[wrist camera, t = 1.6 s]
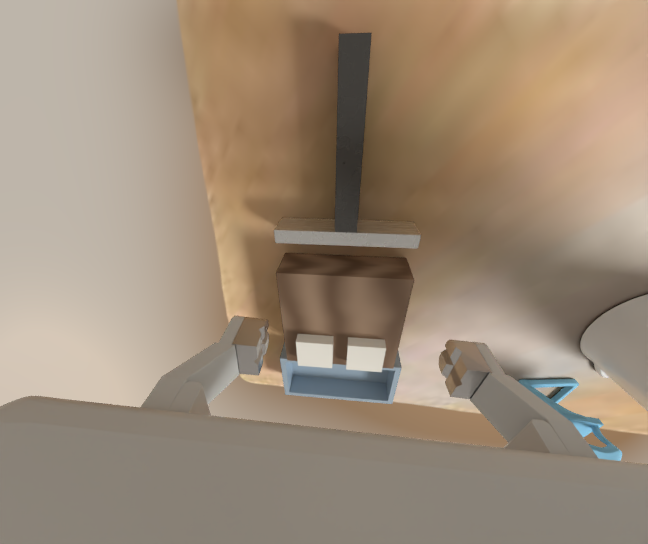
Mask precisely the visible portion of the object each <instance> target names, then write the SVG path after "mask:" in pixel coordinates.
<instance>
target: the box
mask: <svg viewBox="0 0 648 544" xmlns="http://www.w3.org/2000/svg"><path fill="white" fill-rule="evenodd" d="M280 363H281V369H282V376H283V382H284V389H285V394H286V395H297V396H308V397H319V398H330V399H341V400H354V401H364V402H375V403H386V404H392V402H393V398H394V395H395V391H396V387H397V383H398V379H399V375H400V372H401V363H400V358H399V353H398V351H397V355H396V360H395V364H394V368H393V369H391V368H382V372H372V371H360V370H347V369H346V365H340V364H333V365H332V368H322V367H309V366H298V361H289V360H287V354H286V347H285V343H284V346H283V349H282V353H281V356H280Z"/></svg>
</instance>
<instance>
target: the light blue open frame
mask: <svg viewBox="0 0 648 544" xmlns="http://www.w3.org/2000/svg"><path fill="white" fill-rule="evenodd" d="M518 382H519V383H520V384H522V385H523V386H524V387H525V388H527V389H528V390H529V391H531V392H532V393H533V394H535V395H536V396H537V397H539V398H540V399H541V400H543V401H544V402H545V403H547V404H548V405H549V406H551V407H552V408H553V409H555V410H556V411H557V412H559V413H560V414H561V415H563V416H564V417H565V418H567V419H568V420H569V421H571V422H572V423H573V424H574V426H575V427H576V429H577V430H578V431H579V433H580V434H581V435H582V437H583V438H584V437H585V436H586V435H588V434H589V433H591V432H593V433H594V434H595V436H596V437H597V438H598V439H599V440H600V441H602V442H603V443H605V444H606V445H607V446H606V447H603V448H600V447H596V446H593V445H590V444H588V445H589V446H590V447H591V449H592V450H593V451H594V453H595V454H596V455H597V457H598V458H599V459H606V460H615V461H620V460H621V457H622V452H621V451H620V450H619V449H618V448H617V447H615V446H614V445H613V444H612V443H611V442H609V441H608V440H607V439H606V438H605V437H604V436H603V435H602V434H601V432H600V429H599V428H600V427H602V426H603V424H602V422H601V421H600V420H599V419H596V418H591V417H585V416H582V415H579V414H576V413H573V412H571V411H569V410H567V409H565V408H563V407H562V406H560V405H559V404H557V403H558V402H560V401H561V400H562V399H563V398H564V397H565V396H567V395H568V394H569V393H570V392H571V391H573V390H574V389H575V388H576V387H577V386H578V385H579V383H578V382H577V381H576V380H575V379H544V380H524V379H522V380H519V381H518ZM562 386H565V387H564V388H563V389H561V390H560V391H559V392H558V393H557V394H556V395H555V396H553V397H552V398H551V399H549V398H548V397H546V396H545V395H544V394H542V393H541V392H539V391H538V390H536V389H535V388H538V387H562Z"/></svg>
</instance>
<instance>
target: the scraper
mask: <svg viewBox="0 0 648 544" xmlns="http://www.w3.org/2000/svg"><path fill="white" fill-rule="evenodd" d="M370 46H371V33H348V34H339V58H338V104H337V150H336V196H335V219H316V218H284V217H282V218H281V220H280V221H279V223H278V224H277V226H276V228H275V229H274V235H275V243H290V244H315V245H340V246H366V247H391V248H416V249H418V246H419V242H420V237H421V234H420V233H419V231H418V229H417V227H416V225H415V224H414V222H412V221H380V220H358V209H359V196H360V182H361V169H362V155H363V141H364V128H365V114H366V100H367V87H368V73H369V60H370Z"/></svg>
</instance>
